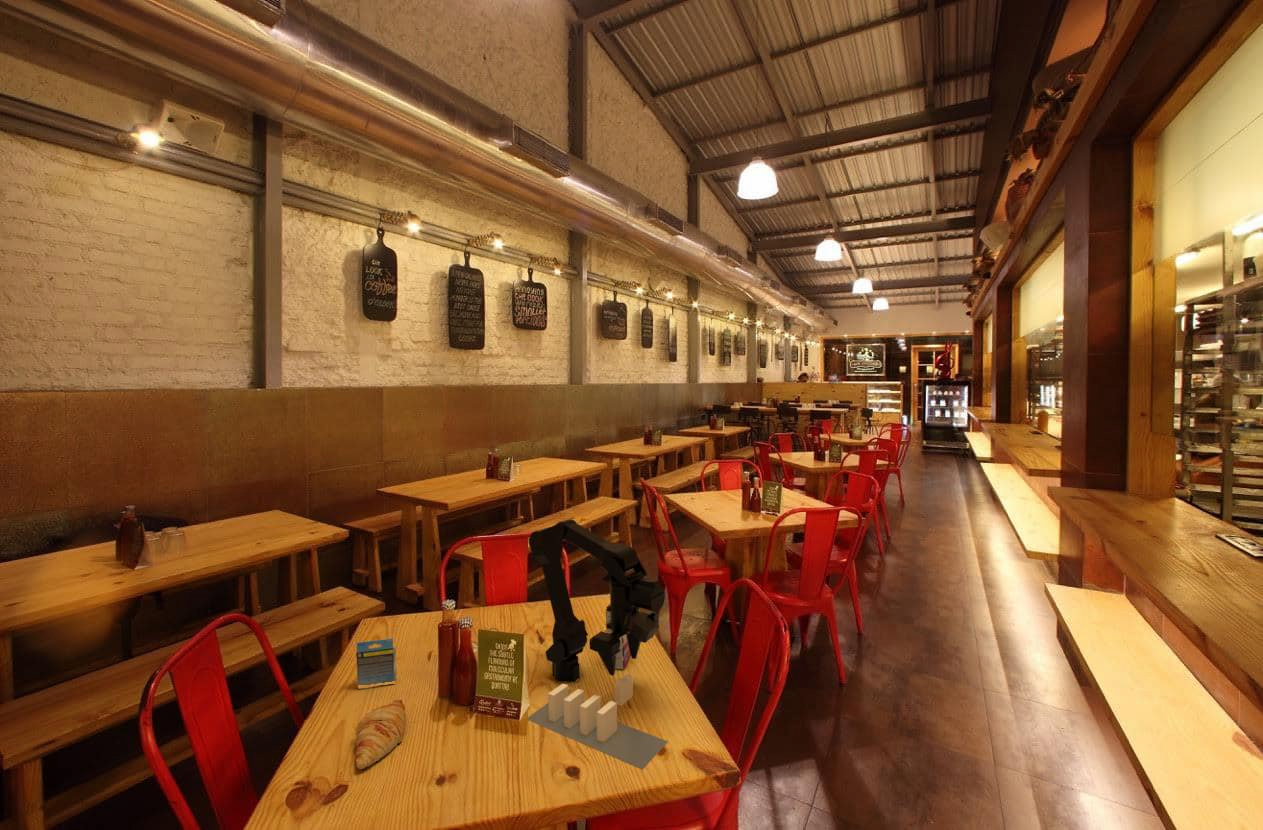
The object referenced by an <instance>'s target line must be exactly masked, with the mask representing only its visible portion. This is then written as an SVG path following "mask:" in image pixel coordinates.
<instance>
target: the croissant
mask: <svg viewBox="0 0 1263 830" xmlns="http://www.w3.org/2000/svg"><path fill="white" fill-rule="evenodd" d="M406 724H407V714H406V706H405V704H404V703H403V700H402V699H395V700H393V702H390V703H388V704H386V705H381V706H378V707H376V708H373V709H372V710H371V711H369V712H368V713H366V714H365V715H364V716H363V717H362V718H361V719H360V720H359V722H358V723H357V725H356V727H355V741H354V744H355V745H357V746H356V747H357V748H356V751H355V755H356V760H355V763H356V767H357V768H358V769H359V770H363V769H365V767H366V768H368V767H370V766H372V765H373V764H375V763H376V761H377V762H378V761H380V760H381V759H383V758H384V757H385V756H386V755H388V754H389V753H391V751H392V750H394V749H395V748H396V747H395V746H398V745H397V744H398V743H400V742H401V743H402V742H403V737H404V735H405V734H404V733H405V730H406V726H407V725H406ZM401 743H400V744H401ZM394 747H395V748H394ZM380 758H381V759H380ZM374 762H375V763H374ZM367 766H368V767H367Z"/></svg>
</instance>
